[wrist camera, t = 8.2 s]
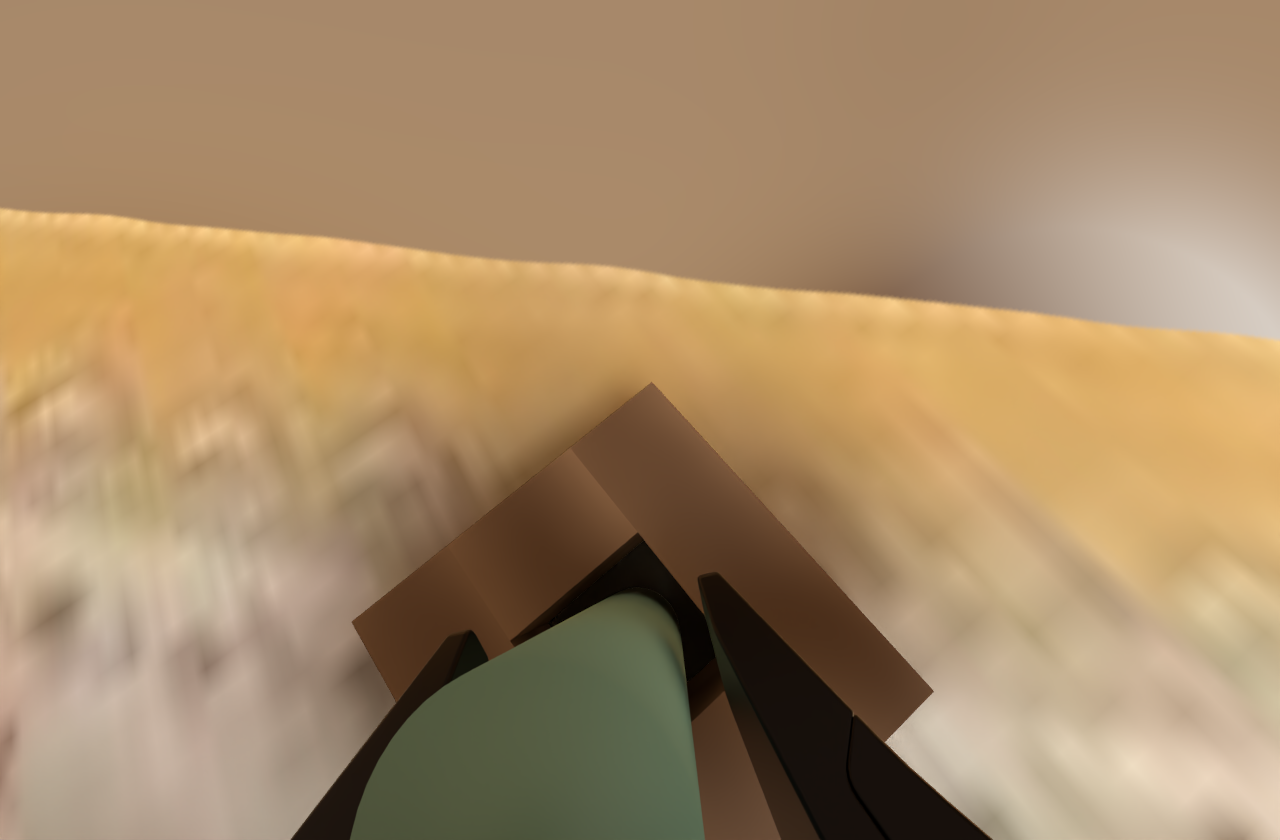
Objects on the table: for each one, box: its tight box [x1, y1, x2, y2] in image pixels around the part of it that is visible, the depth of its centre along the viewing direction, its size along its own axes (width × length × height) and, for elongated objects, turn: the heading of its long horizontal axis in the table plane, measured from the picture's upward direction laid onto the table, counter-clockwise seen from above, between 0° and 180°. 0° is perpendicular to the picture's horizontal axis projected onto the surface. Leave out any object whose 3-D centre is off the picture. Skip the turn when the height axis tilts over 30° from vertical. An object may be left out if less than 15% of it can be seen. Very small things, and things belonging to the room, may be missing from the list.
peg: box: [350, 587, 705, 840], centre depth 10 cm, size 3×3×13 cm
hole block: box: [352, 382, 934, 840], centre depth 14 cm, size 11×11×4 cm
